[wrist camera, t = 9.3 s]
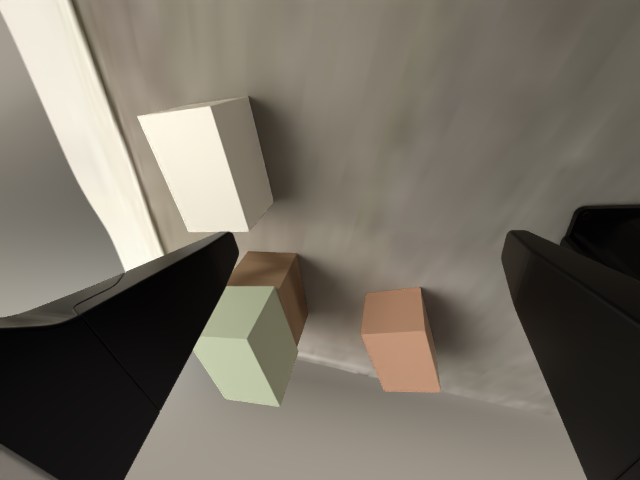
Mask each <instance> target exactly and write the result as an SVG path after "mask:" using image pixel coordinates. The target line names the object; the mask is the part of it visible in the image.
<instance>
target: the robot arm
mask: <svg viewBox="0 0 640 480" xmlns="http://www.w3.org/2000/svg"><path fill="white" fill-rule="evenodd" d="M587 212H588V214H587V215H585V216H582V215H583V214H584V213H587ZM238 256H239V249H238V247H237V244H236V241H235V238H234V235H233V234H232V232H229V231H221V232H218V233H216V234H213V235H211V236H209V237H206V238H204V239H202V240H199V241H197V242H195V243H192V244H190V245H188V246H185V247H183V248H181V249H178V250H176V251H174V252H171V253H169V254H167V255H164V256H162V257H160V258H157V259H155V260H153V261H150V262H148V263H146V264H143V265H141V266H138V267H136V268H134V269H131V270H129V271H127V272H126V273H122V274H120V275H118V276H115V277H113V278H110V279H108V280H106V281H103V282H101V283H98V284H96V285H93V286H91V287H89V288H86V289H83V290H81V291H78V292H76V293H73V294H71V295H68V296H65V297H63V298H60V299H58V300H55V301H53V302H50V303H47V304H45V305H42V306H39V307H37V308H35V309H32V310H29V311H26V312H23V313H20V314H16V315H12V316H7V317H1V318H0V480H124V479H125V477H126V475H127V473H128V471H129V469H130V468H131V466H132V464H133V462H134V460H135V458H136V456H137V454H138V453H139V451H140V449H141V447H142V445H143V443H144V441H145V439H146V437H147V435H148V434H149V432H150V429H151V428H152V426H153V424H154V422H155V420H156V419H157V417H158V415H159V413H160V410H161V409H162V407H163V405H164V403H165V401H166V399H167V398H168V396H169V394H170V392H171V390H172V388H173V386H174V384H175V383H176V381H177V379H178V377H179V375H180V373H181V371H182V369H183V368H184V365H185V364H186V362H187V360H188V358H189V356H190V354H191V353H192V351H193V349H194V347H195V345H196V343H197V341H198V339H199V338H200V336H201V334H202V332H203V330H204V328H205V326H206V324H207V322H208V321H209V319H210V317H211V315H212V313H213V311H214V309H215V307H216V306H217V304H218V302H219V300H220V298H221V296H222V294H223V292H224V290H225V288H226V286H227V284H228V281H229V279H230V276H231V274H232V271H233V269H234V266H235V264H236V261H237V259H238ZM501 259H502V264H503V268H504V272H505V275H506V279H507V283H508V287H509V290H510V294H511V298H512V301H513V304H514V307H515V310H516V312H517V315H518V317H519V319H520V322H521V324H522V327H523V329H524V331H525V334H526V336H527V338H528V341H529V343H530V345H531V348H532V350H533V353H534V355H535V357H536V360H537V362H538V364H539V367H540V369H541V371H542V374H543V376H544V379H545V381H546V383H547V386H548V388H549V390H550V393H551V395H552V397H553V400H554V402H555V404H556V407H557V409H558V412H559V414H560V416H561V419H562V421H563V423H564V426H565V428H566V430H567V433H568V435H569V438H570V440H571V442H572V445H573V447H574V449H575V452H576V454H577V456H578V459H579V461H580V463H581V466H582V468H583V471H584V473H585V475H586V478H587V480H640V205H610V206H583V207H580V208H578V209H577V210H576V211H575V212H574V214H573V217H572V220H571V222H570V225H569V227H568V230H567V233H566V235H565V236H564V237H563V238H562V240H561V243H560V245H557V244H555V243H553V242H551V241H549V240H546V239H544V238H542V237H540V236H537V235H535V234H533V233H531V232H529V231H526V230H511V231H509V232H508V233H507V236H506V239H505V243H504V247H503V251H502V257H501Z"/></svg>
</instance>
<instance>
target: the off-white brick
mask: <svg viewBox="0 0 640 480" xmlns="http://www.w3.org/2000/svg"><path fill="white" fill-rule="evenodd" d="M137 117H138V119H139V121H140V124H141V126H142V128H143V130H144V133H145V135H146V137H147V139H148V142H149V144H150V146H151V148H152V151H153V153H154V155H155V157H156V160H157V162H158V164H159V166H160V169H161V171H162V173H163V175H164V178H165V180H166V182H167V184H168V187H169V189H170V191H171V193H172V196H173V198H174V200H175V202H176V205H177V207H178V209H179V211H180V214H181V216H182V218H183V220H184V223H185V225H186V227H187V229H188V232H221V231H229V232H249V231H250V230H251V229H252V228H253V227H254V225H255V224H256V223H257V222H258V221H259V219H260V218H261V217H262V216H263V215H264V213H265V212H266V211H267V210H268V209H269V207H270V206H271V205H272V204H273V203H274V201H273V196H272V192H271V188H270V184H269V180H268V176H267V172H266V168H265V163H264V159H263V155H262V151H261V147H260V143H259V139H258V135H257V130H256V126H255V122H254V118H253V114H252V110H251V106H250V102H249V97H248V96H246V97H239V98H232V99H225V100H218V101H211V102H204V103H197V104H190V105H185V106H180V107H176V108H171V109H167V110H163V111H158V112H154V113H150V114H145V115H141V116H137Z"/></svg>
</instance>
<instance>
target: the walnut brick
mask: <svg viewBox="0 0 640 480" xmlns="http://www.w3.org/2000/svg"><path fill="white" fill-rule="evenodd" d="M227 286H275V289H276V292H277V295H278V297H279V300H280V303H281V306H282V308H283V311H284V314H285V316H286V319H287V322H288V325H289V327H290V330H291V333H292V336H293V338H294V341H295V344H296V347H297V346H298V343H299V340H300V337H301V334H302V331H303V328H304V325H305V322H306V319H307V316H308V309H307V304H306V299H305V294H304V288H303V283H302V278H301V272H300V267H299V262H298V256H297V253H276V252H251V251H248V252H247V254H246V255H245V256H244V258H243V259H242V260H241V262H240V263H239V264H238V266H237V267H236V268H235V269H234V271H233V272H232V274H231V276H230V279H229V281H228V284H227Z"/></svg>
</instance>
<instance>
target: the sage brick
mask: <svg viewBox="0 0 640 480" xmlns="http://www.w3.org/2000/svg"><path fill="white" fill-rule="evenodd" d="M193 351H194V352H195V354H196V355H197V357H198V359H199V360H200V361H201V363H202V365H203V366H204V367H205V369H206V371H207V372H208V373H209V375H210V376H211V378H212V379H213V381H214V383H215V384H216V386H217V387H218V389H219V390H220V392H221V393H222V395H223V396H224V398H225V399H228V400H235V401H243V402H250V403H256V404H264V405H271V406H277V407H280V406H281V403H282V400H283V396H284V394H285V391H286V387H287V384H288V381H289V378H290V375H291V372H292V369H293V366H294V363H295V360H296V357H297V354H298V349H297V347H296V344H295V341H294V338H293V336H292V333H291V330H290V327H289V325H288V322H287V319H286V316H285V314H284V311H283V308H282V306H281V303H280V300H279V297H278V295H277V292H276V289H275V286H226V288H225V290H224V292H223V294H222V296H221V298H220V300H219V302H218V304H217V306H216V307H215V309H214V311H213V313H212V315H211V317H210V319H209V321H208V322H207V324H206V326H205V328H204V330H203V332H202V334H201V336H200V338H199V339H198V341H197V343H196V345H195V347H194V349H193Z"/></svg>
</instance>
